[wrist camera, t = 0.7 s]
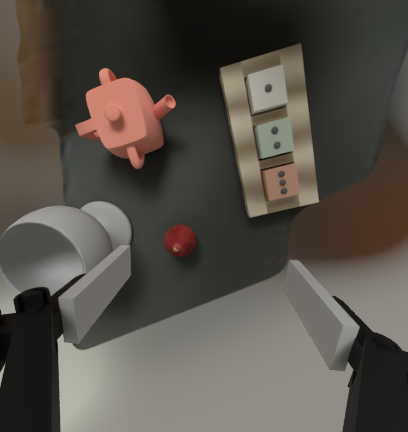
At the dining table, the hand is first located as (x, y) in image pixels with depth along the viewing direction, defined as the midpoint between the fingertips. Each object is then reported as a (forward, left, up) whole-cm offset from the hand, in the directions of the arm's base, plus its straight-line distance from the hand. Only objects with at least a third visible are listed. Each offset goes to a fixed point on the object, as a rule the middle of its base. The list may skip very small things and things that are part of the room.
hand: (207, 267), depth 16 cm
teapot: (-11, -16, -22) cm, 29 cm away
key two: (-15, +6, -21) cm, 26 cm away
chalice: (+10, -20, -22) cm, 32 cm away
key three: (-9, +10, -21) cm, 24 cm away
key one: (-21, +3, -20) cm, 29 cm away
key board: (-15, +6, -22) cm, 27 cm away
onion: (+6, -4, -22) cm, 23 cm away
